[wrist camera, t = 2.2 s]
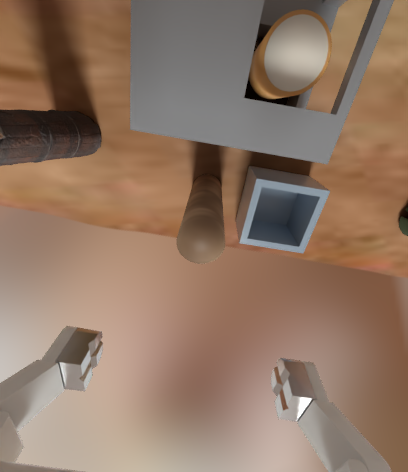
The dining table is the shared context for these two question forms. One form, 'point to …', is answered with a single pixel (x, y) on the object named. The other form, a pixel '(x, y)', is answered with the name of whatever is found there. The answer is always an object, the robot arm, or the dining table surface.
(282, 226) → the cup
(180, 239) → the wooden dowel
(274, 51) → the button
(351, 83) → the box
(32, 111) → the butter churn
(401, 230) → the character mug
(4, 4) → the dining table surface
